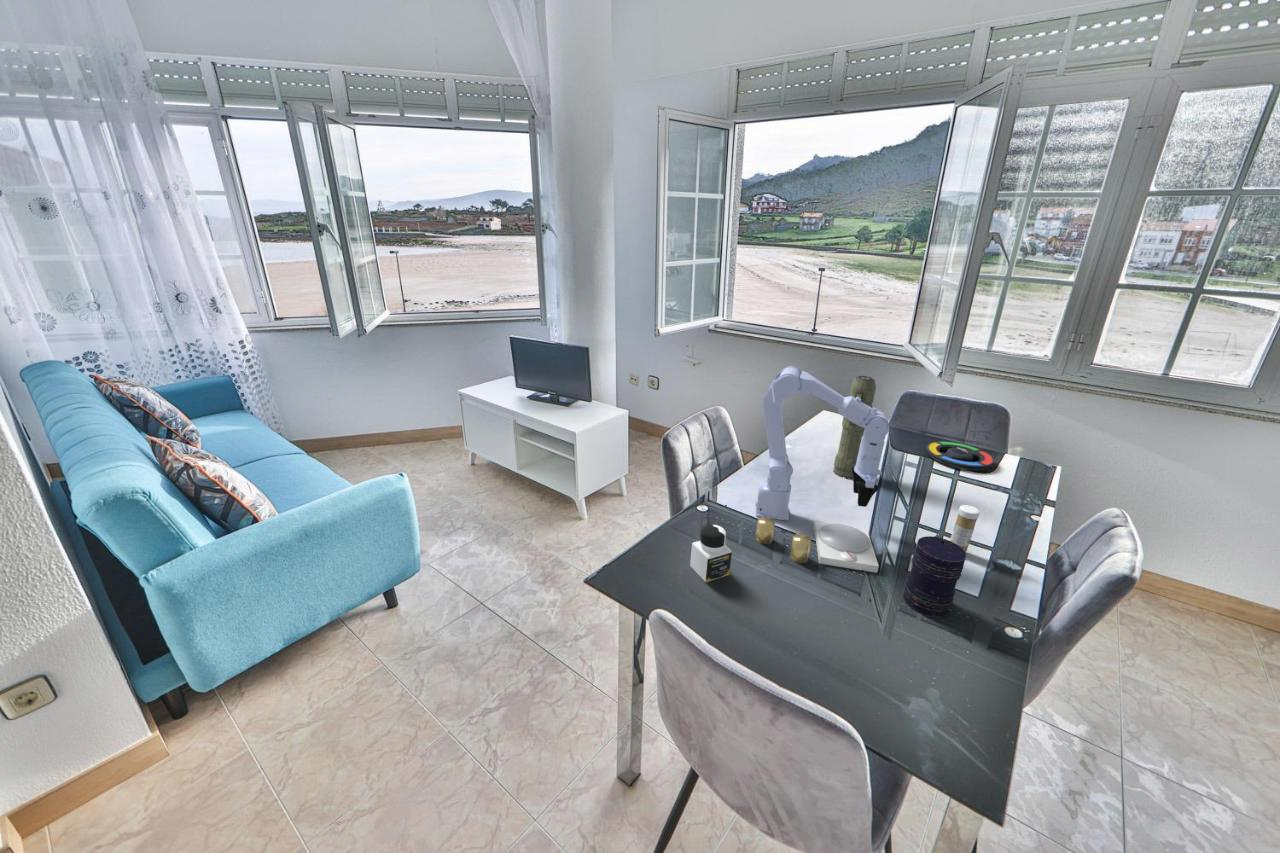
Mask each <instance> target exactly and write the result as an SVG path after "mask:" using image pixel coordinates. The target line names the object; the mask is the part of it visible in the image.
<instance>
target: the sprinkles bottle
mask: <svg viewBox="0 0 1280 853" xmlns="http://www.w3.org/2000/svg"><path fill="white" fill-rule="evenodd" d="M979 516H980V510H979V509H978V508H976V507H975V506H971V505H969V504H968V505H967V504H966V505H965V504H963V505H960V506H959V509H958V511H957V518H956V521H955V524H954V527H953V529H952V533H951V536H950V540H949V541H951V542H953V543H955V544H957V545H958V546H960V547H961V548H962V549H963V550H964V551H965V552H966V553H967V551H968V548H969V546H970V543H971V540H972V537H973V534H974V531H975V527H976V522H977V520H978V518H979Z"/></svg>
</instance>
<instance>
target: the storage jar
mask: <svg viewBox="0 0 1280 853" xmlns="http://www.w3.org/2000/svg"><path fill="white" fill-rule="evenodd" d="M912 556H913V557H912V558H911V564H912V566H911V568H910V572H909V574H908V575H907V579H906V581H905V584H904V591H903V594H902V599H903V601H904V604H906V605H907V606H908V607H909V608H910V609H912V611H913V612H914V611H915V612H916V613H918V614H920V615H923V616H926V617H930V618H944V617H946V616H947V615H948V614H949V613H950V608H951V606H952V604H953V602H954V600H955V599H954V597H955V593H956V586H957V583H958V581H959V579H960V578H961V577H962V572H963V569H964V566H965V562H966V558H967V552H965V551H964V550H963V549H962V548H961V547H960V546H958V545H957V544H955V543H953V542H951V541H950V540H948V539H946V538H943V537H939V536H927V535H926V536H922V537H920V538H919V539H918V540H917V542H916V547H915V549H914V551H913V555H912Z"/></svg>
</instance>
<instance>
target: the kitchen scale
mask: <svg viewBox="0 0 1280 853" xmlns="http://www.w3.org/2000/svg"><path fill="white" fill-rule="evenodd" d="M813 530H814V531H813V532H814V537H815V538H814V539H815V543H816V550H817V557H818V564H821V565H827V566H833V567H838V568H839V567H840V568H846V569H851V570H858V571H862V570H863V572H868V573H875V574H877V573H878V571H879V567H880V565H879V563H878V560H877V557H876V556H877V555H876V554H875V550H874V547H873V545H872V541H871V537H870V534H869V531H868V528H866V527H858V526H852V525H847V524H843V523H832V522H831V523H830V522H824V521H817V520H815V521H814V524H813Z"/></svg>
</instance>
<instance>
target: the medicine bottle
mask: <svg viewBox="0 0 1280 853" xmlns="http://www.w3.org/2000/svg"><path fill="white" fill-rule="evenodd" d="M699 537H700V538H699V540H698V541H694V542H692V543H691V550H690V551H691V553H690V562H689V564H690V565H689V568H691V569H692V570H693V571H694V572H695V573H696V575H698V576H699V577H700V578H701V579H702V580H703V582H705V583H709V582H711V581H714V580H717V579H721V578H724V577H727V576H729V575H730V572H731V571H730V570H731V562H732V555H733V551H732V550H731V549H730V548H729V547H728V546H727V545H726V539H727V531H726V530H725V529H724V528H723V526H720V525H717V524H707V525H704V526H703V527H702V528H701V529H700V536H699Z"/></svg>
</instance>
